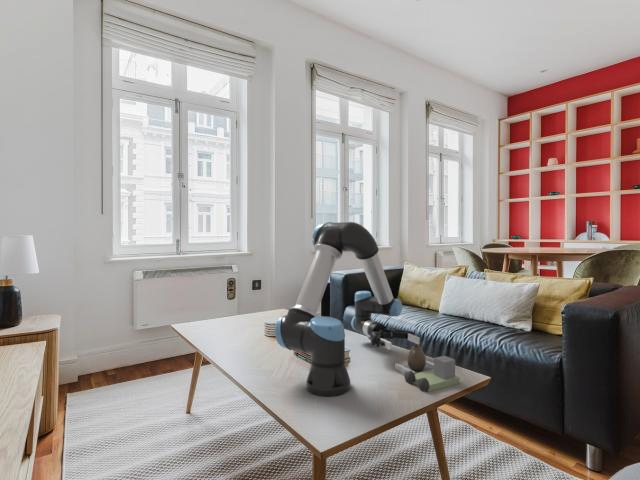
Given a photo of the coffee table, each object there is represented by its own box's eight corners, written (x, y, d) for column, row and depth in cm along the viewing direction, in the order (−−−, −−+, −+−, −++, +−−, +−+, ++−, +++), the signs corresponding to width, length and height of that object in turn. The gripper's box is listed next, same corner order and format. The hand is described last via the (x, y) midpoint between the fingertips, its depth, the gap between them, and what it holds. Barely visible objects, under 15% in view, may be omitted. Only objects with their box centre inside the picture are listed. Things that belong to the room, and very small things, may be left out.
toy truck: (404, 381, 137) (404, 358, 137) (437, 372, 144) (437, 351, 144) (425, 393, 127) (425, 369, 127) (460, 383, 134) (460, 360, 134)
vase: (426, 373, 141) (426, 349, 141) (407, 372, 143) (407, 348, 142) (425, 366, 148) (425, 343, 148) (407, 365, 149) (406, 342, 149)
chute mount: (394, 370, 147) (394, 364, 147) (421, 364, 153) (421, 358, 153) (412, 379, 138) (412, 372, 138) (439, 372, 144) (439, 366, 144)
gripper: (398, 334, 176) (430, 348, 157) (350, 343, 166) (378, 358, 146) (397, 318, 176) (429, 329, 157) (350, 325, 165) (378, 338, 146)
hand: (405, 343), depth 151 cm, fingers open, 13 cm apart
